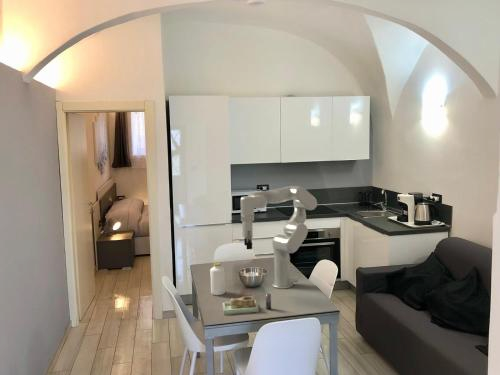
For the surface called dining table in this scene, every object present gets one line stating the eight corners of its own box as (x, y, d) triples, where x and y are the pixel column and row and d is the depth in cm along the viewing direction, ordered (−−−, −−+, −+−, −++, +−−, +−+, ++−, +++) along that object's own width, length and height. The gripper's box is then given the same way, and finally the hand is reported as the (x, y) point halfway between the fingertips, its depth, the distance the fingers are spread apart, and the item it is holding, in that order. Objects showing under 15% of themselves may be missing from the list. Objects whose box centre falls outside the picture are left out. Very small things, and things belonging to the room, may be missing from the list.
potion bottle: (211, 291, 271) (210, 262, 269) (225, 290, 271) (224, 261, 269) (211, 296, 262) (210, 266, 260) (225, 295, 263) (224, 265, 261)
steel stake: (270, 307, 242) (270, 293, 241) (271, 309, 239) (271, 295, 239) (265, 308, 242) (265, 293, 241) (266, 310, 239) (266, 295, 238)
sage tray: (255, 304, 248) (255, 299, 248) (258, 312, 236) (258, 307, 236) (222, 306, 246) (222, 302, 246) (224, 314, 234) (224, 310, 234)
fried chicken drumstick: (253, 304, 245) (252, 295, 244) (254, 309, 238) (254, 300, 238) (230, 306, 243) (230, 297, 243) (231, 310, 237) (231, 301, 236)
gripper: (239, 215, 266) (240, 244, 268) (242, 220, 249) (243, 251, 251) (251, 215, 267) (252, 243, 269) (256, 220, 250) (257, 250, 252)
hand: (248, 247), depth 260 cm, fingers open, 9 cm apart
